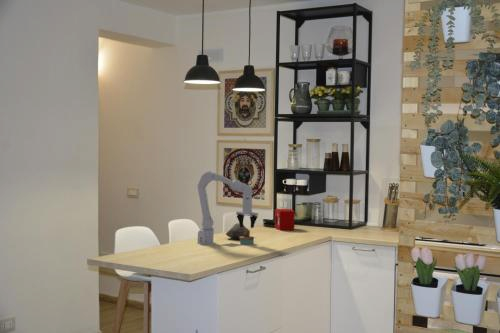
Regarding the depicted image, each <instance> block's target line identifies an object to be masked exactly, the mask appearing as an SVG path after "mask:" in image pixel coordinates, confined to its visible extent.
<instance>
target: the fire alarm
mask: <svg viewBox="0 0 500 333" xmlns="http://www.w3.org/2000/svg"><path fill="white" fill-rule="evenodd" d="M274 228H275V229H277V230H278V231H279V232H280V231H281V232H284V231H294V230H295V211H294V209H292V208H275V209H274Z"/></svg>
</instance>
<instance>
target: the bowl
mask: <svg viewBox="0 0 500 333" xmlns="http://www.w3.org/2000/svg"><path fill="white" fill-rule="evenodd" d="M254 239H255V238H254ZM254 239H252V240H243V239H240V240H239V243H240V245H242V246H244V245H245V246H247V245H248V246H250V245H251V246H252V245H254Z"/></svg>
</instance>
